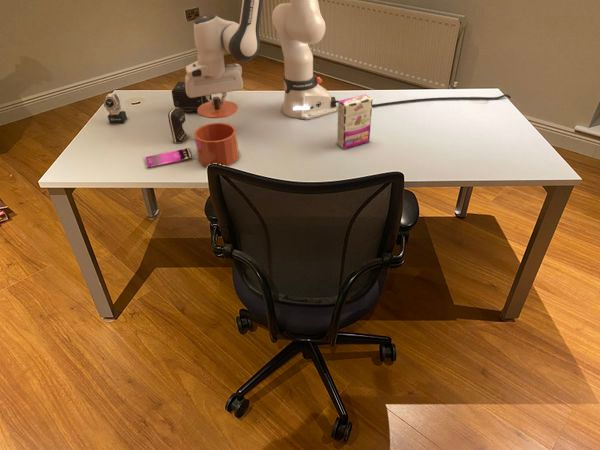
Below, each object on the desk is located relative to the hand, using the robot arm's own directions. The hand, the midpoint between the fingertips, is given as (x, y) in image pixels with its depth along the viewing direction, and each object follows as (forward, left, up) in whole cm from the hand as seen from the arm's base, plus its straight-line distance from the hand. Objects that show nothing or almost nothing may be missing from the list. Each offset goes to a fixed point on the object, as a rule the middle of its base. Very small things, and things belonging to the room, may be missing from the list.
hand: (217, 104), depth 159 cm
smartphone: (+21, +13, -11) cm, 27 cm away
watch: (+36, -25, -11) cm, 45 cm away
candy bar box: (-42, +27, -11) cm, 51 cm away
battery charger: (+15, 0, -11) cm, 19 cm away
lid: (0, 0, -2) cm, 2 cm away
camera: (+6, -23, -11) cm, 26 cm away
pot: (+5, +18, -11) cm, 22 cm away
